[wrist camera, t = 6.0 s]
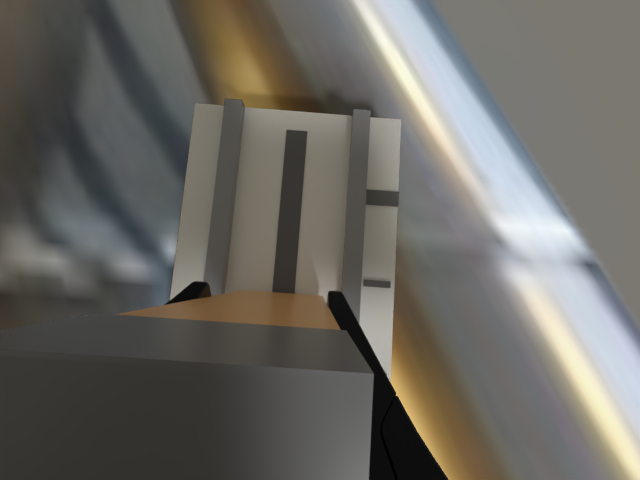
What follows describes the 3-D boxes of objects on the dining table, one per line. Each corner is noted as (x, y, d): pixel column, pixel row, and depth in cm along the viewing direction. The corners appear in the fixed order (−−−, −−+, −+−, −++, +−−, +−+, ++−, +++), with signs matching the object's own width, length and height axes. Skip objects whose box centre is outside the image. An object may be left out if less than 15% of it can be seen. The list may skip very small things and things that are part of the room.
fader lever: (319, 356, 13) (355, 755, 2) (235, 350, 13) (-165, 731, 2) (323, 294, 13) (374, 374, 2) (241, 288, 13) (-77, 344, 2)
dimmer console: (370, 530, 15) (385, 597, 12) (165, 518, 15) (126, 583, 12) (388, 142, 17) (404, 113, 14) (212, 128, 17) (190, 95, 14)
